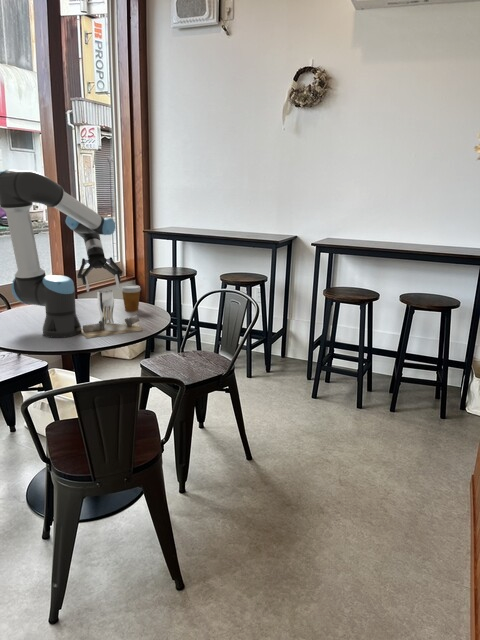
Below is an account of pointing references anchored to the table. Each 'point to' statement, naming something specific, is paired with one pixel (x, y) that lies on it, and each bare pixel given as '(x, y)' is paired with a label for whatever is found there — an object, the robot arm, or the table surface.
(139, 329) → the shaft cradle
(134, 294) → the disposable coffee cup
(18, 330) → the table surface
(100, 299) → the beer glass
